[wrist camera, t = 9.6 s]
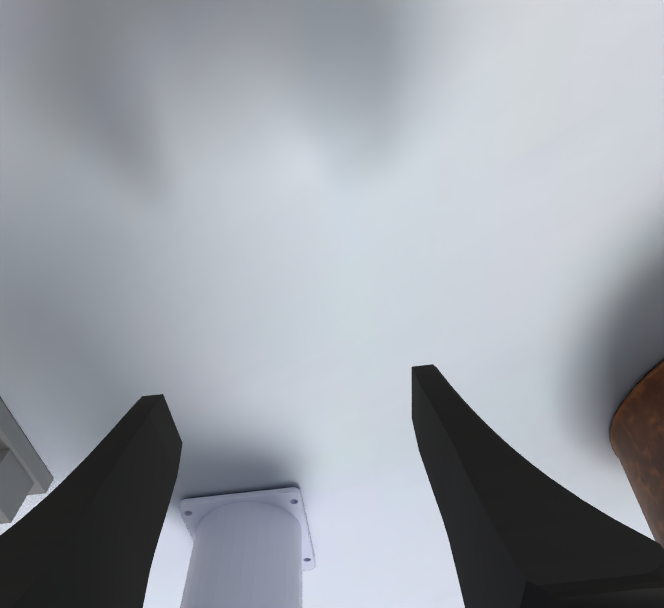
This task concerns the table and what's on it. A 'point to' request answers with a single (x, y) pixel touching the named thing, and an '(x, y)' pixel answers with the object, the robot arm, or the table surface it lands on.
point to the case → (644, 446)
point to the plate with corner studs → (18, 468)
